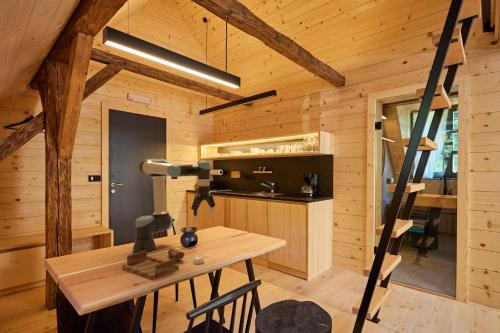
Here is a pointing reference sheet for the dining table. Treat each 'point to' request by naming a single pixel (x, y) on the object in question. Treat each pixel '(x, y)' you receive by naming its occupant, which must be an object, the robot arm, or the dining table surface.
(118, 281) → the dining table surface
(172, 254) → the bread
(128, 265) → the cradle
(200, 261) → the beige round lump
